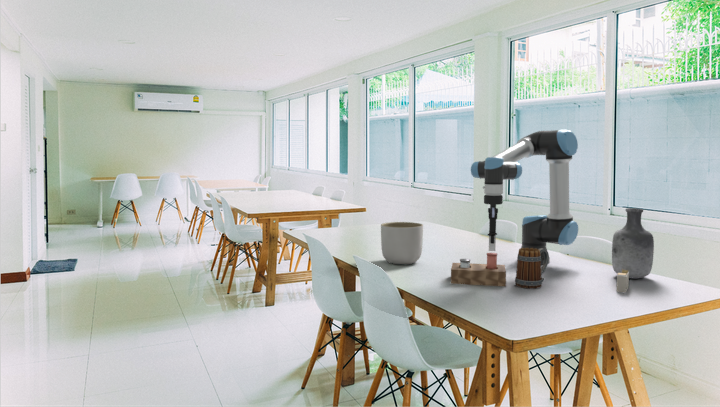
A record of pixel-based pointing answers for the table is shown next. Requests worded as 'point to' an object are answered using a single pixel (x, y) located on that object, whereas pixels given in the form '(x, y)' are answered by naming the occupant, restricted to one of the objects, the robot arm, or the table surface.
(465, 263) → the plug grey
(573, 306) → the table surface
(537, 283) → the mug
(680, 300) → the table surface
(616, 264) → the vase
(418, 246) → the planter
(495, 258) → the plug red
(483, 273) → the socket block
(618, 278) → the model
